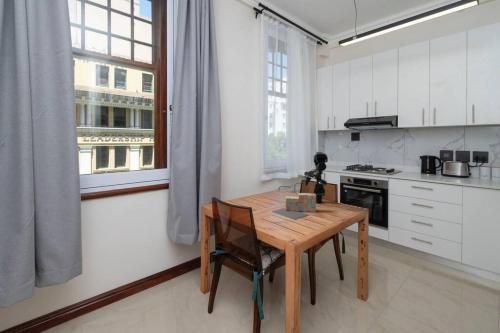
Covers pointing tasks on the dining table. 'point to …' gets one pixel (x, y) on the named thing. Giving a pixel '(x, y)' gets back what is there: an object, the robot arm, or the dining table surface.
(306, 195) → the stack of blocks
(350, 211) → the dining table surface
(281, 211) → the mat
